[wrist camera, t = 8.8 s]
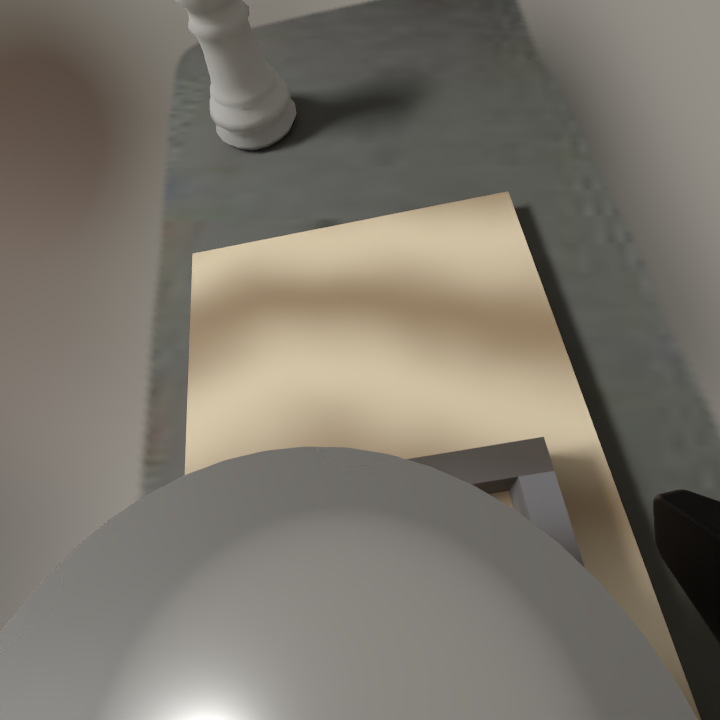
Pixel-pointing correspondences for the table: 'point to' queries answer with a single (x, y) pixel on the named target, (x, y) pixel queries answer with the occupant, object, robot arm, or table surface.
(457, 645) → the grey rounded piece
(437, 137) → the table surface
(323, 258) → the carrier board
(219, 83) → the rook chess piece
